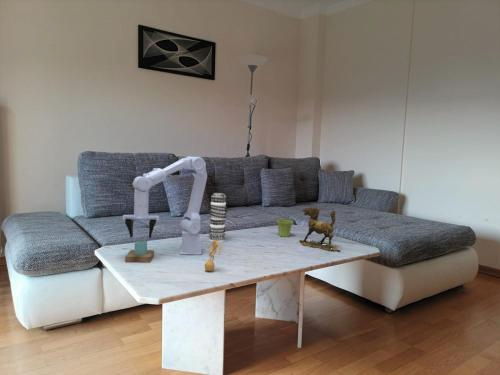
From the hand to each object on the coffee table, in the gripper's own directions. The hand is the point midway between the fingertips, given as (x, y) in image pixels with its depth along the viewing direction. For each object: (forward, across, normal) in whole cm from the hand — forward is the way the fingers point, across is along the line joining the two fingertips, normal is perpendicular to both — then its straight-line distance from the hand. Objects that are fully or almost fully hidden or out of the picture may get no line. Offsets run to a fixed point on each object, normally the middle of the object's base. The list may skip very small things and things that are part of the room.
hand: (140, 237), depth 152 cm
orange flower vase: (+10, +30, -14) cm, 34 cm away
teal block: (+7, 0, 0) cm, 7 cm away
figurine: (+10, +86, +26) cm, 91 cm away
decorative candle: (+10, +33, +35) cm, 49 cm away
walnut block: (+10, 0, 0) cm, 10 cm away
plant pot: (+10, +72, +48) cm, 87 cm away
